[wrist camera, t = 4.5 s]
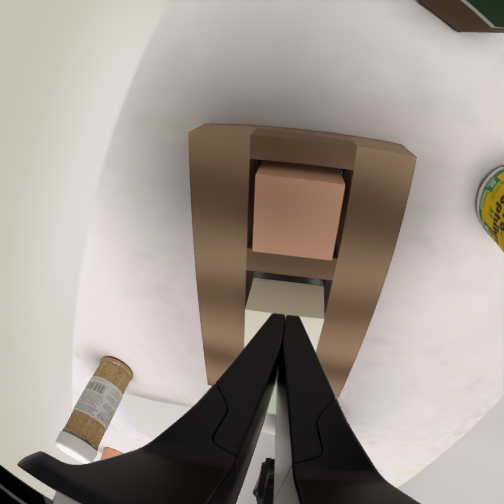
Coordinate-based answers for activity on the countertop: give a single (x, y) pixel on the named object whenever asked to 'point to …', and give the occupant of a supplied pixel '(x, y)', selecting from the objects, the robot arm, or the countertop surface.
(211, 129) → the wooden tray
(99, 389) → the sprinkles bottle
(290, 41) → the countertop surface
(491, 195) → the supplement bottle
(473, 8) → the beer bottle
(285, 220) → the terracotta key
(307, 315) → the cream key
